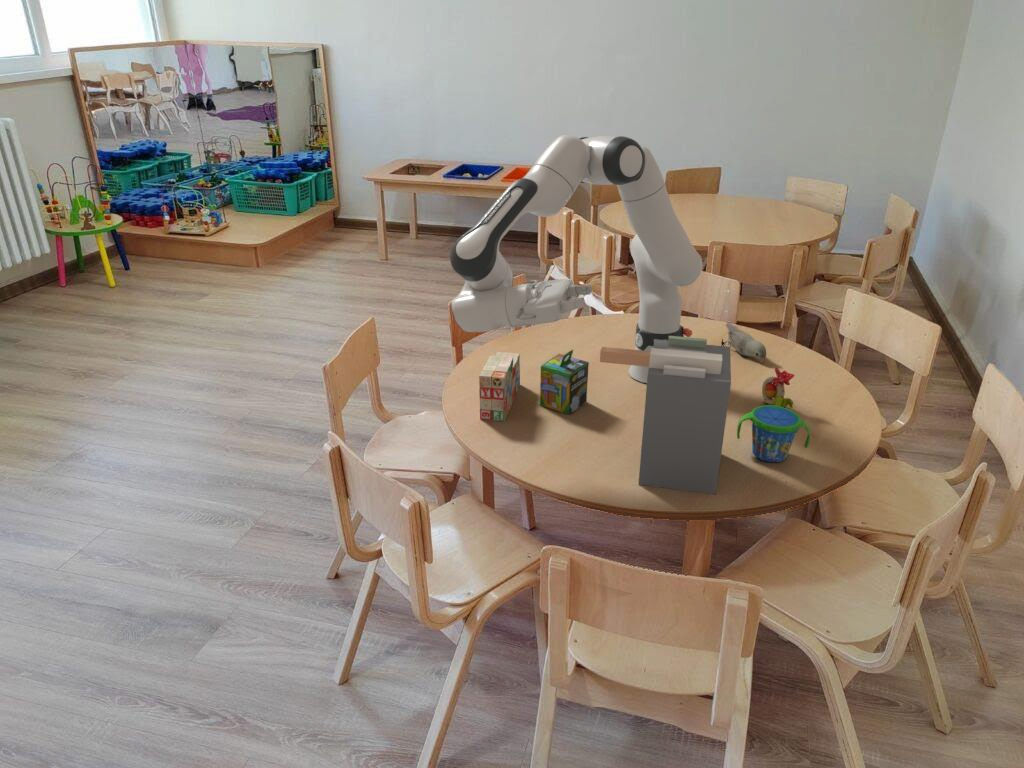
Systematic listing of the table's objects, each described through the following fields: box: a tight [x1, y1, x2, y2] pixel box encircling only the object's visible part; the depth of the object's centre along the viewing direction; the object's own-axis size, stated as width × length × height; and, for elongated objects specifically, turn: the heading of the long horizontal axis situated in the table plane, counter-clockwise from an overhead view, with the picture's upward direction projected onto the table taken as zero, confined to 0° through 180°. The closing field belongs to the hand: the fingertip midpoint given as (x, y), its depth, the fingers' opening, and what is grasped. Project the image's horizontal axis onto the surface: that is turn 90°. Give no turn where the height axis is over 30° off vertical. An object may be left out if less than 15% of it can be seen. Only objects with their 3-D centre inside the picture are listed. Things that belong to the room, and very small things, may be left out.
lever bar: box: [599, 346, 722, 375], centre depth 156 cm, size 24×3×3 cm, turn 76°
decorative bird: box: [720, 322, 767, 364], centre depth 225 cm, size 5×16×8 cm, turn 29°
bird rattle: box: [761, 366, 795, 409], centre depth 194 cm, size 6×11×9 cm
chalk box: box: [539, 349, 590, 416], centre depth 195 cm, size 9×9×15 cm
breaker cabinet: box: [638, 336, 732, 496], centre depth 164 cm, size 16×18×28 cm
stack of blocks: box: [478, 351, 521, 422], centre depth 197 cm, size 21×6×12 cm, turn 169°
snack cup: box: [736, 404, 811, 463], centre depth 173 cm, size 16×10×10 cm
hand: (587, 295), depth 162 cm, fingers open, 8 cm apart
